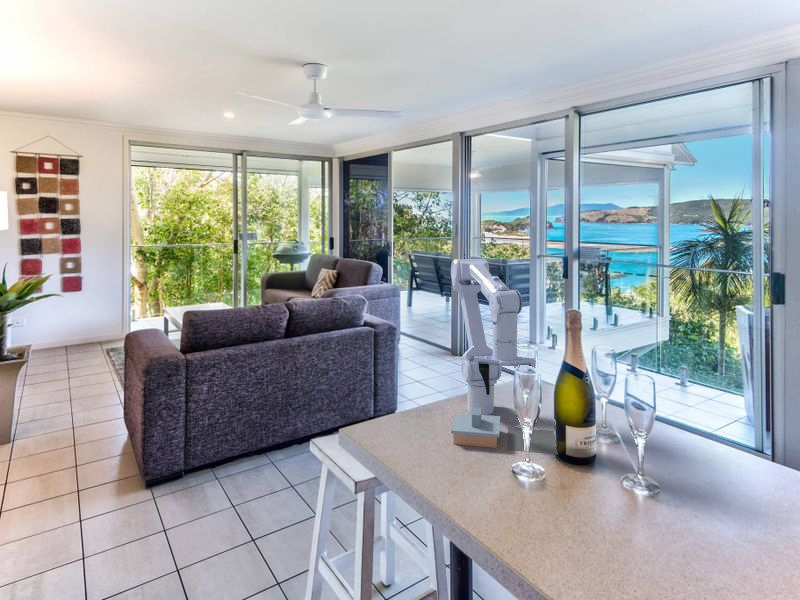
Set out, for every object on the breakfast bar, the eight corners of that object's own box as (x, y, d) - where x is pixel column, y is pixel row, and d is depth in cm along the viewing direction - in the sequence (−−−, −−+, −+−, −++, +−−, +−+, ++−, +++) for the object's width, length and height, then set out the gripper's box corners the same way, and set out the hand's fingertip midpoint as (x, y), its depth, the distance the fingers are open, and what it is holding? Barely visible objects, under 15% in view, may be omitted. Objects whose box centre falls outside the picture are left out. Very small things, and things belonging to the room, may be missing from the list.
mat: (507, 430, 125) (508, 427, 125) (553, 433, 123) (553, 430, 123) (507, 453, 112) (507, 449, 112) (558, 457, 110) (558, 454, 110)
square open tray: (457, 429, 125) (457, 416, 125) (497, 433, 123) (498, 420, 123) (453, 447, 116) (453, 432, 115) (496, 451, 113) (497, 436, 113)
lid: (456, 415, 125) (456, 401, 125) (500, 419, 123) (500, 404, 122) (451, 433, 115) (451, 418, 114) (499, 437, 112) (499, 421, 112)
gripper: (473, 342, 117) (473, 397, 118) (536, 344, 114) (535, 401, 115) (475, 336, 124) (475, 389, 125) (535, 338, 120) (533, 392, 122)
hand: (504, 394), depth 121 cm, fingers open, 7 cm apart
